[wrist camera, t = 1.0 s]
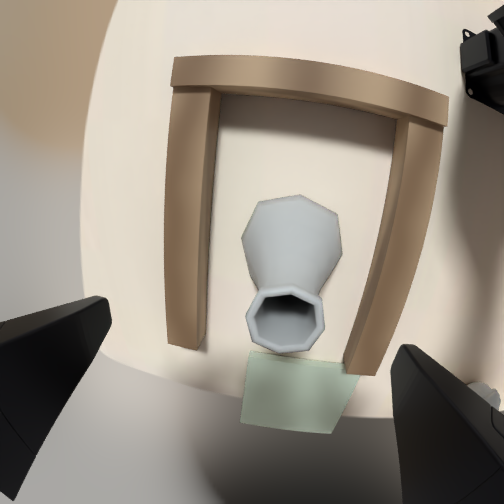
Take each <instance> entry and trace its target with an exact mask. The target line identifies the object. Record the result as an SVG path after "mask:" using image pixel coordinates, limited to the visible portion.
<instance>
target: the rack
mask: <svg viewBox="0 0 504 504" xmlns="http://www.w3.org/2000/svg"><path fill="white" fill-rule="evenodd" d="M170 86H171V87H173V96H172V104H171V113H170V123H169V135H168V147H167V162H166V179H165V205H164V279H165V305H166V323H167V338H168V344H172V345H176V346H180V347H184V348H188V349H192V350H196V351H197V349H198V347H199V345H200V343H201V341H202V339H203V337H204V335H205V333H206V301H207V275H208V254H209V236H210V220H211V205H212V191H213V178H214V166H215V155H216V144H217V134H218V124H219V114H220V105H221V97H222V94H236V95H254V96H267V97H277V98H287V99H295V100H303V101H310V102H317V103H323V104H329V105H335V106H340V107H346V108H351V109H355V110H360V111H365V112H369V113H374V114H378V115H382V116H386V117H390V118H393V119H397V122H396V132H395V141H394V149H393V157H392V164H391V171H390V177H389V183H388V189H387V195H386V200H385V206H384V211H383V216H382V221H381V225H380V230H379V234H378V239H377V243H376V247H375V252H374V256H373V260H372V264H371V268H370V271H369V275H368V279H367V282H366V286H365V290H364V293H363V296H362V300H361V303H360V306H359V310H358V313H357V316H356V319H355V322H354V325H353V328H352V331H351V334H350V337H349V340H348V343H347V346H346V349H345V352H344V354H343V355H344V362H345V368H346V374H352V375H367V376H375V375H376V372H377V370H378V368H379V366H380V364H381V362H382V359H383V357H384V355H385V353H386V350H387V348H388V346H389V343H390V341H391V339H392V336H393V334H394V331H395V329H396V326H397V324H398V321H399V319H400V316H401V313H402V310H403V308H404V305H405V302H406V299H407V296H408V293H409V291H410V288H411V284H412V281H413V278H414V275H415V272H416V268H417V265H418V262H419V258H420V255H421V251H422V247H423V244H424V240H425V236H426V232H427V228H428V223H429V219H430V214H431V210H432V205H433V200H434V195H435V189H436V183H437V177H438V171H439V164H440V157H441V149H442V140H443V129H444V127H446V126H447V123H448V106H449V97H448V96H446V95H443V94H440V93H438V92H435V91H432V90H430V89H427V88H424V87H421V86H418V85H415V84H412V83H409V82H405V81H402V80H399V79H395V78H392V77H388V76H384V75H381V74H377V73H373V72H368V71H364V70H360V69H355V68H350V67H345V66H340V65H334V64H329V63H322V62H316V61H308V60H301V59H292V58H281V57H268V56H249V55H204V56H185V57H174V63H173V70H172V77H171V84H170Z"/></svg>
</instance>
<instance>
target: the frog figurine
mask: <svg viewBox="0 0 504 504" xmlns="http://www.w3.org/2000/svg"><path fill="white" fill-rule="evenodd" d="M467 386H468V387H469V388H471V389H472V390H473V391H474V392H476V393H477V394H478V395H479V396H481V397H482V398H483V399H484V400H486V401H487V402H488V403H489V404H490V405H491V406H493V407H494V408H496V409H497V410H498V411H499V406H500V402H501V399H500V395H499V393H498V392H497V390H496V389H491V388H490V387H489V386H488V385H487V384H485V383H482V382H474V383H471V384H469V385H467Z"/></svg>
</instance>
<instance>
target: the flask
mask: <svg viewBox="0 0 504 504" xmlns="http://www.w3.org/2000/svg"><path fill="white" fill-rule="evenodd" d="M241 239H242V243H243V247H244V252H245V256H246V261H247V265H248V269H249V274H250V276H251V278H252V280H253V281H254V283H255V284H256V286H257V288H258V290H259V291H258V293H257V295H256V296H255V298H254V300H253V302H252V304H251V306H250V307H249V309H248V311H247V313H246V316H245V317H246V321H247V324H248V328H249V332H250V336H251V340H252V342H254V343H256V344H258V345H260V346H263V347H265V348H267V349H270V350H272V351H274V352H276V353H279V354H280V353H291V352H301V351H309V350H310V348H311V347H312V346H313V344H314V343H315V342H316V340H317V339H318V338H319V336H320V335H321V334H322V332H323V331H324V330H325V322H324V313H323V304H322V298H321V297H320V296H318V295H319V291H320V289H321V288H322V286H323V285H324V283H325V282H326V280H327V278H328V277H329V275H330V274H331V272H332V270H333V269H334V267H335V265H336V264H337V262H338V260H339V259H340V257H341V255H342V254H343V253H342V245H341V236H340V228H339V221H338V214H336V213H334V212H333V211H331V210H329V209H327V208H325V207H323V206H321V205H320V204H318V203H316V202H314V201H312V200H310V199H308V198H306V197H304V196H302V195H294V196H288V197H282V198H276V199H271V200H265V201H259V202H258V204H257V206H256V208H255V210H254V212H253V214H252V216H251V218H250V220H249V222H248V224H247V227H246V229H245V231H244V233H243V235H242V237H241Z"/></svg>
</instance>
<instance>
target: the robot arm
mask: <svg viewBox="0 0 504 504" xmlns="http://www.w3.org/2000/svg"><path fill="white" fill-rule="evenodd" d="M488 18H489V19H490V20H491V22H492V23H494V24H495V26H496V28H495V29H493V30H491V31H488V30H484V31H482V32H481V33H479V34H477V35H476V34H474V33H473V32H471V31H469V30H467V29H463V31H462V33H463V43H461V44H460V46H461V61H462V70H463V72H464V73H465V79H466V93H467V95H468V96H469V97H470V98H472V99H474V100H477V101H479V102H481V103H483V104H485V105H487V106H489V107H491V108H493V109H495V110H496V111H498V112H500V113H502V114H504V5H503V6H501V7H500V8H498V9H497V10H495V11H494V12H493V13H491V14H490V15H488ZM465 32H468V33H469V35H470V37H467V36H466V35H465ZM468 89H471V90H472V91H473V94H472V95H470V94H469V93H468ZM111 324H112V318H111V313H110V307H109V302H108V300H107V299H106V298H104V297H101V296H92V297H89V298H85V299H82V300H78V301H74V302H71V303H67V304H64V305H60V306H57V307H53V308H50V309H46V310H42V311H39V312H36V313H32V314H28V315H25V316H21V317H17V318H14V319H10V320H7V321H3V322H0V492H2V493H3V494H4V495H6V496H7V497H8V498H9V499H11V500H12V501H14V500H15V498H16V496H17V494H18V492H19V490H20V488H21V485H22V483H23V481H24V479H25V477H26V475H27V473H28V471H29V469H30V467H31V465H32V463H33V461H34V459H35V458H36V455H37V453H38V452H39V449H40V448H41V446H42V444H43V442H44V441H45V439H46V437H47V435H48V433H49V432H50V430H51V428H52V426H53V425H54V423H55V421H56V419H57V418H58V416H59V414H60V413H61V411H62V409H63V407H64V406H65V404H66V403H67V401H68V399H69V398H70V396H71V394H72V393H73V391H74V390H75V388H76V386H77V385H78V383H79V382H80V380H81V378H82V377H83V375H84V374H85V372H86V371H87V369H88V367H89V366H90V364H91V363H92V361H93V359H94V357H95V356H96V354H97V352H98V350H99V348H100V346H101V344H102V342H103V340H104V338H105V337H106V335H107V333H108V331H109V329H110V327H111ZM390 373H391V387H392V403H393V417H394V424H395V430H396V438H397V446H398V454H399V463H400V474H401V486H402V503H403V504H504V415H503V414H502V413H500V412H499V411H498V410H497V409H496V408H494V407H493V406H491V405H490V404H489V403H488V402H487V401H486V400H484V399H483V398H482V397H481V396H479V395H478V394H477V393H476V392H474V391H473V390H472V389H471V388H469V387H468V386H467V385H466V384H464V383H463V382H462V381H461V380H459V379H458V378H457V377H455V376H454V375H453V374H452V373H450V372H449V371H448V370H447V369H445V368H444V367H443V366H441V365H440V364H439V363H438V362H436V361H435V360H434V359H432V358H431V357H430V356H429V355H427V354H426V353H425V352H423V351H422V350H421V349H419V348H418V347H417V346H415V345H413V344H403V345H401V346H400V348H399V350H398V352H397V354H396V357H395V359H394V361H393V363H392V366H391V371H390Z"/></svg>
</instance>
